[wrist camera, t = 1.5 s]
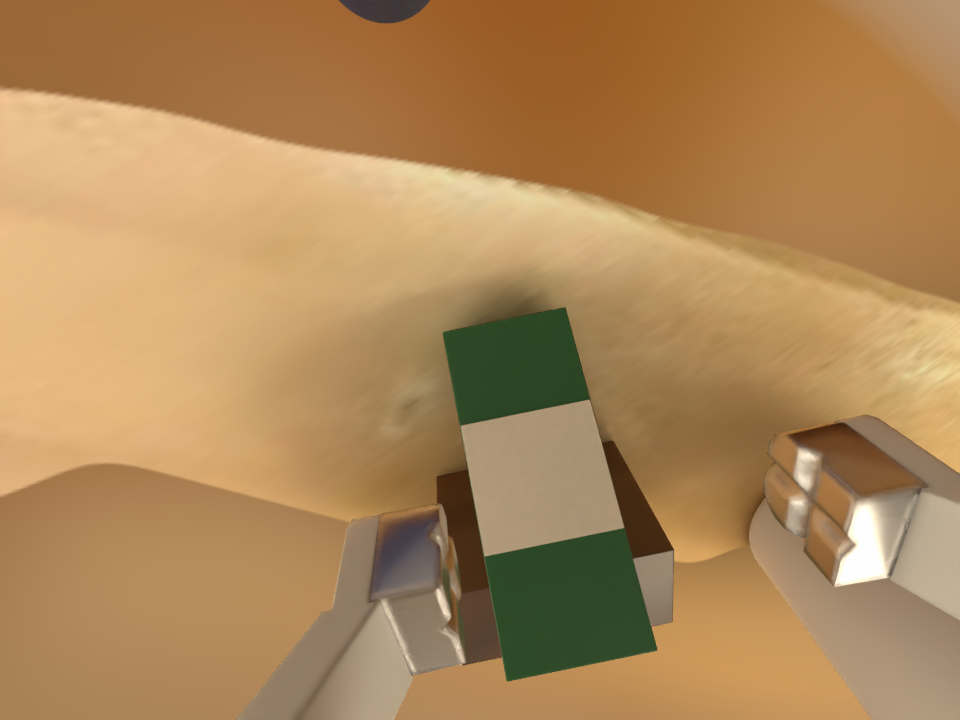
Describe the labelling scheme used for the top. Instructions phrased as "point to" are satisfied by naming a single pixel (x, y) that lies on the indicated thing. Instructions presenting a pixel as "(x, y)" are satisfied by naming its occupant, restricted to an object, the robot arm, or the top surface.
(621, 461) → the block
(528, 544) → the block
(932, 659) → the cylinder vase
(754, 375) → the top surface
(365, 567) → the robot arm
